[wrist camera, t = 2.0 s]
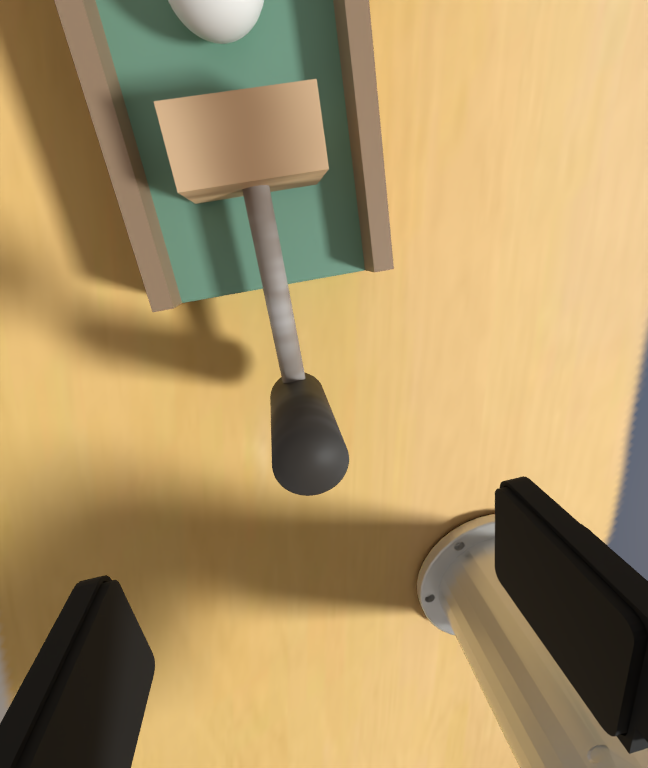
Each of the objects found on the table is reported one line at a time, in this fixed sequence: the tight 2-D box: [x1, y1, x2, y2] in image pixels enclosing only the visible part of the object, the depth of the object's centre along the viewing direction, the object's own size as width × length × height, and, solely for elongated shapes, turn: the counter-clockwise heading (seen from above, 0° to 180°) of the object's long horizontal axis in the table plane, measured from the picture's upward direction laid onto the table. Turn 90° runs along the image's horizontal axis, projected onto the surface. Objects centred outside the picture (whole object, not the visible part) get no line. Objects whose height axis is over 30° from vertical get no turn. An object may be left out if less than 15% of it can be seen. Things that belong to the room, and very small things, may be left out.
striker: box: [154, 79, 349, 496], centre depth 17 cm, size 6×15×8 cm, turn 9°
